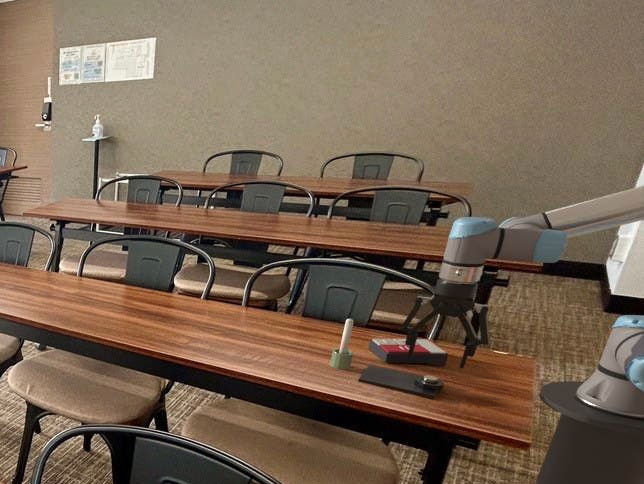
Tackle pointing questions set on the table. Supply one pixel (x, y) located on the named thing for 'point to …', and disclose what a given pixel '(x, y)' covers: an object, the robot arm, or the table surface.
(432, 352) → the calculator
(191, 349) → the table surface
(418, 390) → the tablet
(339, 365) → the pen cup
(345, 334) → the stylus
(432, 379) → the button
